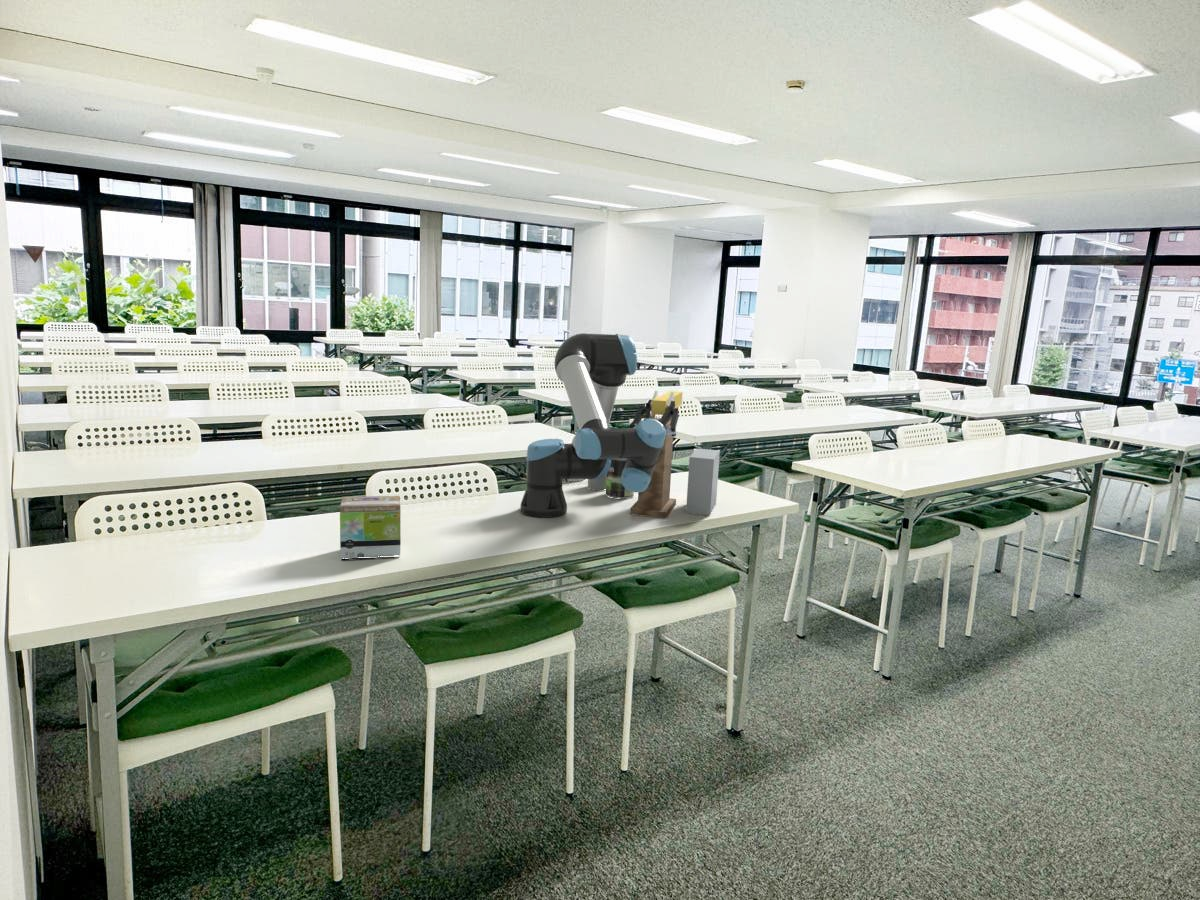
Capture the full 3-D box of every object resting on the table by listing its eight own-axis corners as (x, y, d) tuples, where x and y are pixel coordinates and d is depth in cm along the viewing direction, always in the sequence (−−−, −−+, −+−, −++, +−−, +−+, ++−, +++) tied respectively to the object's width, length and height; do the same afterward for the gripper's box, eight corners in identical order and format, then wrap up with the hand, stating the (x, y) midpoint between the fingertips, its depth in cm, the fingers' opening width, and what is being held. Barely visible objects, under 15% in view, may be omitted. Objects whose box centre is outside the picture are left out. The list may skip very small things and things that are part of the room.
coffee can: (610, 500, 259) (612, 460, 257) (601, 492, 269) (603, 454, 266) (638, 498, 262) (640, 459, 260) (628, 491, 272) (630, 453, 269)
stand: (629, 514, 243) (634, 418, 236) (641, 500, 260) (646, 411, 253) (666, 518, 239) (671, 421, 233) (675, 504, 256) (681, 414, 250)
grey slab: (685, 512, 247) (689, 457, 243) (693, 501, 262) (696, 448, 258) (710, 515, 245) (714, 459, 241) (716, 503, 260) (719, 450, 256)
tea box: (340, 562, 189) (338, 505, 187) (342, 549, 199) (340, 495, 196) (401, 558, 194) (400, 503, 191) (400, 546, 203) (399, 493, 200)
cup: (611, 485, 280) (612, 459, 278) (609, 491, 271) (610, 464, 270) (589, 484, 280) (589, 458, 278) (586, 489, 272) (587, 463, 270)
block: (651, 414, 212) (651, 400, 211) (669, 403, 237) (670, 391, 236) (664, 415, 211) (665, 401, 210) (681, 404, 235) (682, 391, 235)
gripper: (617, 453, 206) (637, 403, 223) (678, 459, 201) (693, 407, 218) (615, 432, 201) (635, 383, 218) (677, 438, 196) (692, 386, 213)
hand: (664, 395), depth 218 cm, fingers closed on block, 4 cm apart
